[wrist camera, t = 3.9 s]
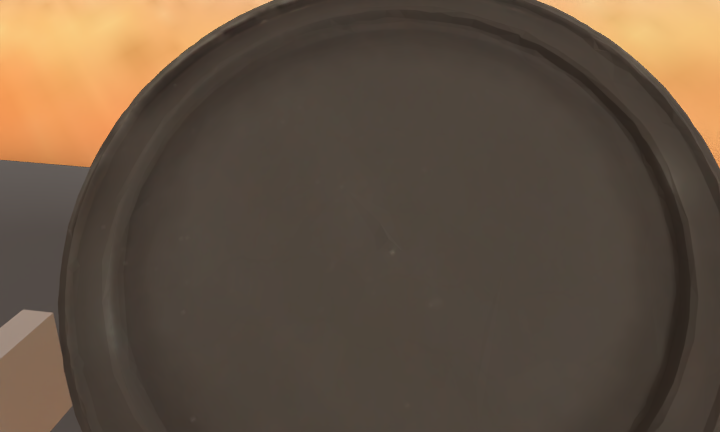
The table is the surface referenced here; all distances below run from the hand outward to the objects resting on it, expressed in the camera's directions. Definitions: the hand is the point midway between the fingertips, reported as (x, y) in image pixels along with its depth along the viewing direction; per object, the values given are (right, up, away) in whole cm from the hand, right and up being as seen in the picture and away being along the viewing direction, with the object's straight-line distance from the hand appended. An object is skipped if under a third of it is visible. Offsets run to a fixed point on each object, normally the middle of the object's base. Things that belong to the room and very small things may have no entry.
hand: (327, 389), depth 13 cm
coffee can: (+2, -2, +9) cm, 9 cm away
